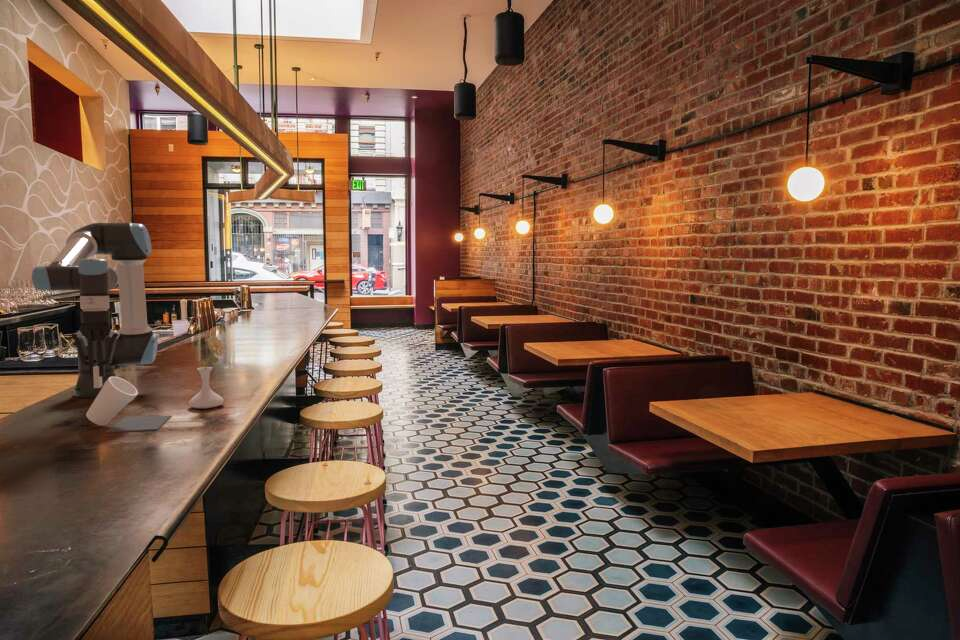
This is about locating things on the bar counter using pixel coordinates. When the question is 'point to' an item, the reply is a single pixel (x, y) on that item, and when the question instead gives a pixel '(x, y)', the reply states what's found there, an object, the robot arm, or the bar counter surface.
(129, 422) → the mat
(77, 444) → the bar counter surface
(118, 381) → the foam cup
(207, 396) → the flower in vase
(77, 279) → the robot arm
